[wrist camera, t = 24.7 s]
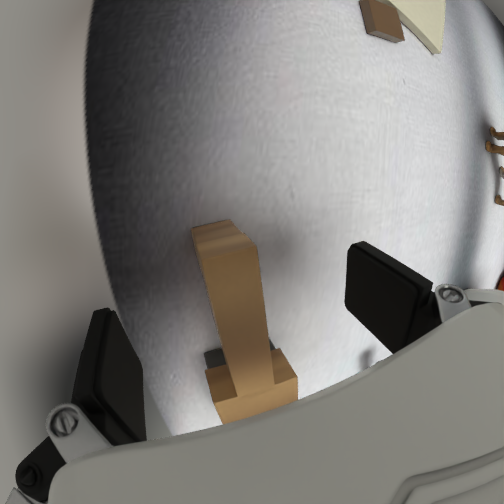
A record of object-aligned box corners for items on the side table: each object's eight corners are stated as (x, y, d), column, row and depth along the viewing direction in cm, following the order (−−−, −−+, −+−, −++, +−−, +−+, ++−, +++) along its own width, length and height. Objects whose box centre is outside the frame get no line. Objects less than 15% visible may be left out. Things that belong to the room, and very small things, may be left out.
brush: (164, 232, 14) (164, 268, 10) (254, 211, 15) (290, 238, 11) (218, 400, 20) (233, 445, 16) (276, 383, 21) (298, 424, 17)
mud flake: (358, 0, 11) (367, -4, 10) (388, 11, 12) (396, 8, 11) (366, 33, 12) (376, 30, 11) (396, 42, 13) (405, 40, 12)
